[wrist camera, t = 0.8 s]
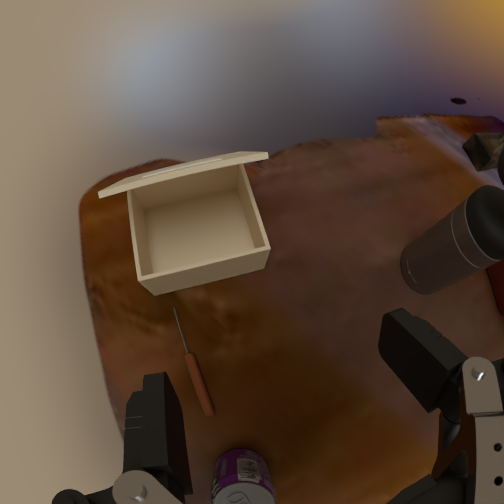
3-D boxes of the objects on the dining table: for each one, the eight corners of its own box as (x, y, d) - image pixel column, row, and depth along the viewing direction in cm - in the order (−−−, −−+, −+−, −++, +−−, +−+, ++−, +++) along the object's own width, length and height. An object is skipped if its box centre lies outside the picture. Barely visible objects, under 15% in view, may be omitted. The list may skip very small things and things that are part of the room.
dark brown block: (507, 166, 58) (520, 154, 51) (476, 173, 55) (491, 159, 48) (493, 143, 60) (505, 130, 54) (459, 146, 57) (473, 131, 51)
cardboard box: (238, 186, 47) (240, 156, 40) (263, 268, 43) (270, 248, 36) (141, 210, 45) (126, 182, 38) (154, 295, 41) (138, 281, 33)
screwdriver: (215, 412, 36) (214, 415, 34) (206, 415, 36) (204, 418, 34) (179, 305, 41) (177, 302, 39) (170, 308, 40) (167, 305, 39)
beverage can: (204, 463, 33) (194, 498, 22) (246, 438, 35) (252, 467, 23) (235, 496, 31) (236, 538, 20) (276, 472, 33) (292, 509, 22)
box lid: (240, 155, 40) (239, 150, 40) (268, 158, 27) (267, 151, 27) (126, 182, 37) (125, 177, 37) (99, 198, 25) (97, 191, 24)
